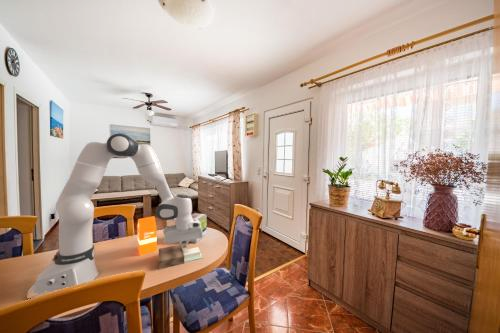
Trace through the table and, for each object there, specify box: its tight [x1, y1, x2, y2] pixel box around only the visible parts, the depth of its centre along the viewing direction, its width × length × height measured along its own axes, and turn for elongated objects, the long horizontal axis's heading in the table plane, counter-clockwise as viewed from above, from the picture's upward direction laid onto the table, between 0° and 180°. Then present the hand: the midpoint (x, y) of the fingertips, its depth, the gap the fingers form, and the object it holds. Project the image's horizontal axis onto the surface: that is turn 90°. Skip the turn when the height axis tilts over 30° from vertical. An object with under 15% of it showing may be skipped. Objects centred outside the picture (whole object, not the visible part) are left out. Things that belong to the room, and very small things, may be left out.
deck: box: [158, 244, 185, 270], centre depth 103 cm, size 12×14×4 cm
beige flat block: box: [182, 246, 201, 259], centre depth 108 cm, size 9×6×2 cm, turn 116°
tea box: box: [189, 212, 208, 244], centre depth 130 cm, size 15×10×15 cm, turn 168°
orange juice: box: [136, 215, 158, 256], centre depth 112 cm, size 8×9×20 cm
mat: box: [184, 251, 204, 263], centre depth 108 cm, size 10×12×1 cm
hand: (184, 247), depth 106 cm, fingers closed
